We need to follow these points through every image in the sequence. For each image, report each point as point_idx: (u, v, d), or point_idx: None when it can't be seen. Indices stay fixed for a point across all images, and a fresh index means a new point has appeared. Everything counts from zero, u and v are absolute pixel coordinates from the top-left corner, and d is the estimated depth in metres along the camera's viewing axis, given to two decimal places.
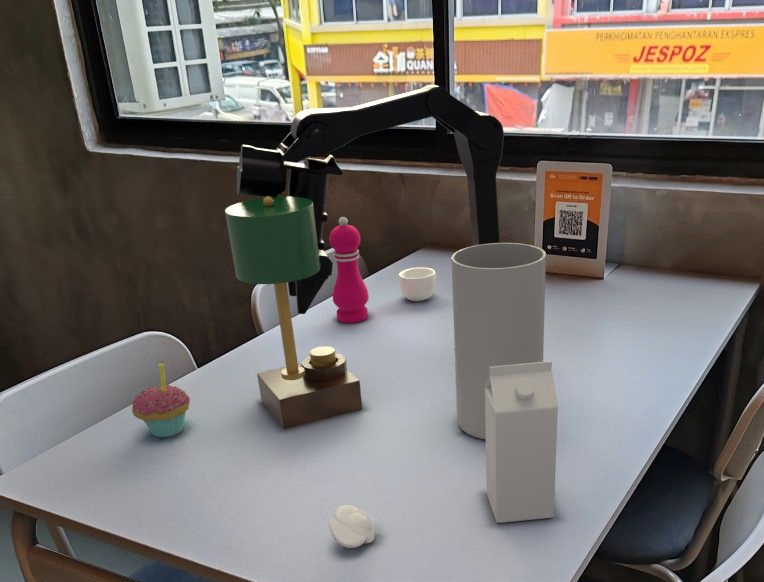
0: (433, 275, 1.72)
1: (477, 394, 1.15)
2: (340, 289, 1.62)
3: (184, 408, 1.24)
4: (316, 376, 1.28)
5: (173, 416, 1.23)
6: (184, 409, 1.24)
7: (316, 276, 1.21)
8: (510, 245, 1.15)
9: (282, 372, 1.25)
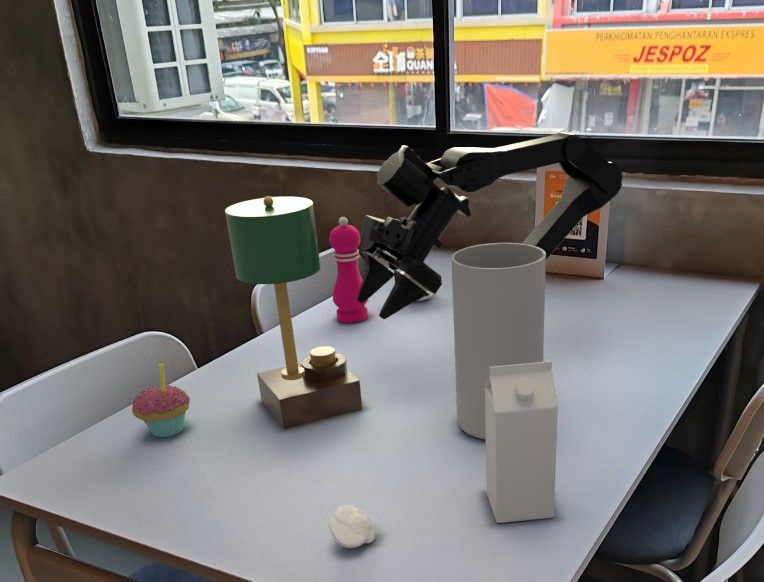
0: None
1: (477, 394, 1.15)
2: (340, 289, 1.62)
3: (184, 408, 1.24)
4: (316, 376, 1.28)
5: (173, 416, 1.23)
6: (184, 409, 1.24)
7: (421, 289, 1.23)
8: (510, 245, 1.15)
9: (282, 372, 1.25)
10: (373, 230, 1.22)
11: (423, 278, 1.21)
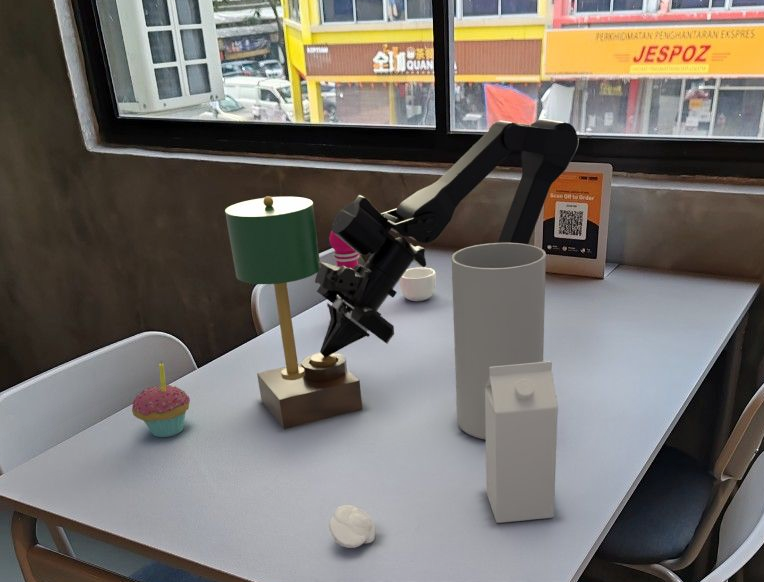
0: (433, 275, 1.72)
1: (477, 394, 1.15)
2: None
3: (184, 408, 1.24)
4: (316, 376, 1.28)
5: (173, 416, 1.23)
6: (184, 409, 1.24)
7: (361, 329, 1.26)
8: (510, 245, 1.15)
9: (282, 372, 1.25)
10: (327, 278, 1.22)
11: (375, 328, 1.21)
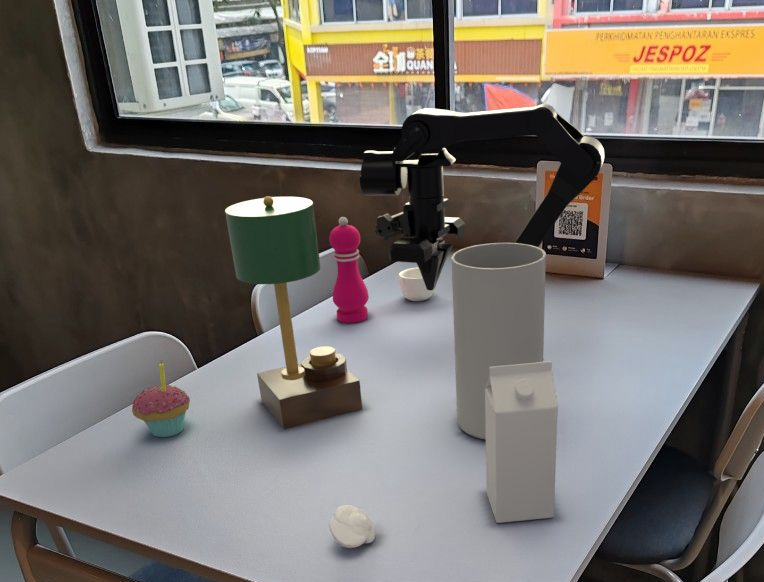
0: None
1: (477, 394, 1.15)
2: (340, 289, 1.62)
3: (184, 408, 1.24)
4: (316, 376, 1.28)
5: (173, 416, 1.23)
6: (184, 409, 1.24)
7: None
8: (510, 245, 1.15)
9: (282, 372, 1.25)
10: None
11: (402, 256, 1.30)
